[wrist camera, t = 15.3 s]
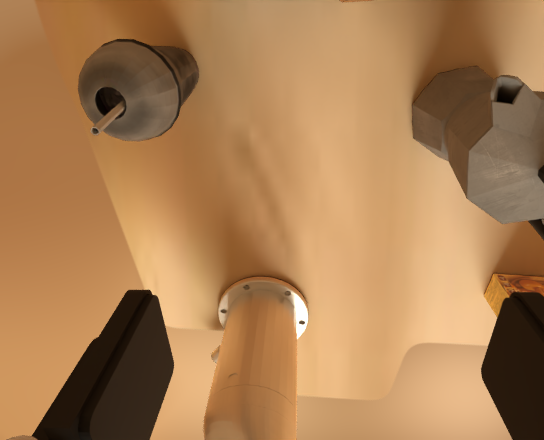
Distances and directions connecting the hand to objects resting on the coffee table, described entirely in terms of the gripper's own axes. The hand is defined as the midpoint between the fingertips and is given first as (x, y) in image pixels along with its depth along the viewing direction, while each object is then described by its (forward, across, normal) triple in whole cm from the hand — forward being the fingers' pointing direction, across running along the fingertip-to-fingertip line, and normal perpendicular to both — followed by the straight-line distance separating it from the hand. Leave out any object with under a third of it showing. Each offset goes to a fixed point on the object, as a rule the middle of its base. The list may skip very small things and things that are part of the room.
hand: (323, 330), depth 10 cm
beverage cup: (+32, +13, -3) cm, 35 cm away
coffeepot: (+32, -16, +3) cm, 36 cm away
